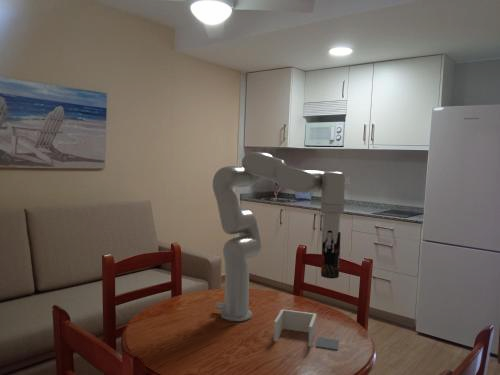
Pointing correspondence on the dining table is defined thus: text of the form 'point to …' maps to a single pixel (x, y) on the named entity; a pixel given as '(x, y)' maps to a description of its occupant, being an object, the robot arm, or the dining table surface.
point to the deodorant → (329, 269)
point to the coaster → (327, 343)
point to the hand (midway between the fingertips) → (330, 261)
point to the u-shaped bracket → (295, 323)
